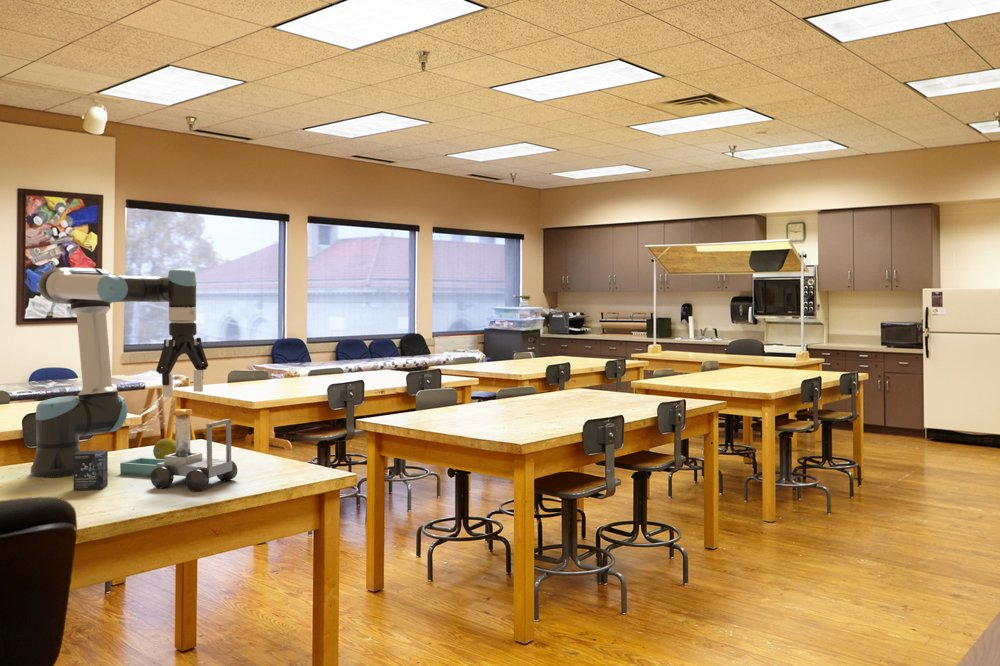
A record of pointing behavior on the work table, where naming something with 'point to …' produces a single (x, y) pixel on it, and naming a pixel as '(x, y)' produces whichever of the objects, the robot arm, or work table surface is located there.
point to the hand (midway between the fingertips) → (183, 394)
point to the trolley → (197, 465)
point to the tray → (139, 466)
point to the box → (90, 470)
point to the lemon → (164, 448)
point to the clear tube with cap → (182, 432)
